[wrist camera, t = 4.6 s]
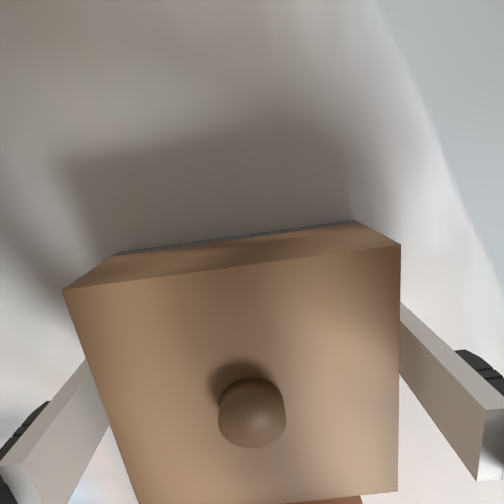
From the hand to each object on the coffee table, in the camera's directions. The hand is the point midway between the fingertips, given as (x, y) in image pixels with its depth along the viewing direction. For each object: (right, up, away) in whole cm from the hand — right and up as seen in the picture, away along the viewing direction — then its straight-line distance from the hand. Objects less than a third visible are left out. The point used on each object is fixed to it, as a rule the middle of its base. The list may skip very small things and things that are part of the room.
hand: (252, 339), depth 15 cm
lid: (0, 0, 0) cm, 1 cm away
